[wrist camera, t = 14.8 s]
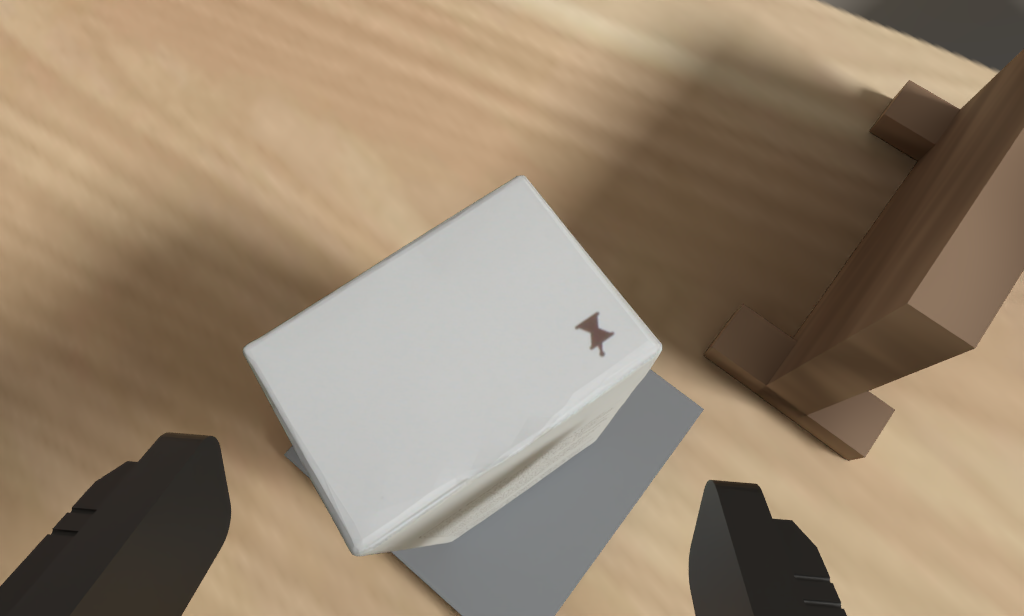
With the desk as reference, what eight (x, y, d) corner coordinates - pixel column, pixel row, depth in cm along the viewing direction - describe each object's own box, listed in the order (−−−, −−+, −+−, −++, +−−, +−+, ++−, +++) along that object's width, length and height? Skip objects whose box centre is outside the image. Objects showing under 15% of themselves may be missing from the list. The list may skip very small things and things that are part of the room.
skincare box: (526, 339, 24) (530, 160, 12) (598, 441, 22) (678, 350, 11) (376, 437, 23) (228, 343, 11) (444, 549, 21) (357, 572, 10)
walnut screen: (703, 355, 24) (818, 244, 15) (893, 98, 28) (1087, -126, 18) (848, 460, 23) (1073, 413, 14) (1029, 179, 27) (1312, -16, 17)
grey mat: (295, 458, 24) (283, 454, 22) (478, 252, 26) (476, 239, 25) (518, 658, 21) (517, 666, 20) (694, 415, 24) (703, 409, 23)
